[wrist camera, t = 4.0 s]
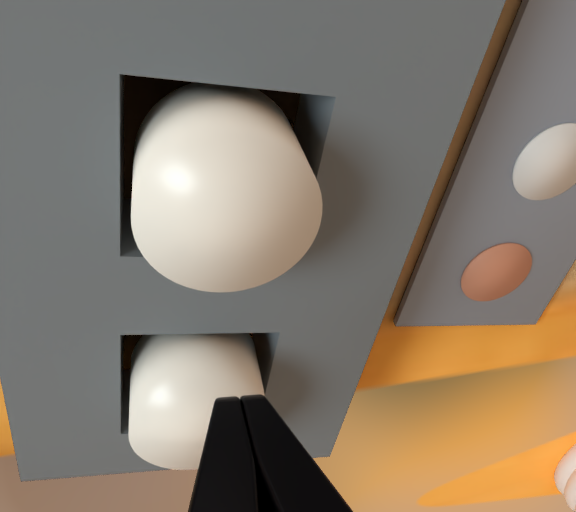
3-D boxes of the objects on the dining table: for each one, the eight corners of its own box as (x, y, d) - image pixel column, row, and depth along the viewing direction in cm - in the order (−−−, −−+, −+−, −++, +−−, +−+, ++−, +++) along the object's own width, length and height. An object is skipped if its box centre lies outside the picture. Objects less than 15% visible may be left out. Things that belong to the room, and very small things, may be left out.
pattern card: (531, 319, 25) (536, 325, 25) (393, 321, 23) (396, 328, 23) (775, -82, 16) (788, -81, 15) (576, -134, 14) (585, -133, 13)
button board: (313, 399, 25) (329, 456, 23) (34, 413, 22) (20, 481, 20) (596, -484, 10) (726, -573, 8) (-156, -838, 7) (-304, -1161, 5)
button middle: (281, 228, 17) (302, 292, 14) (132, 223, 16) (129, 292, 13) (310, 88, 14) (341, 140, 12) (134, 70, 13) (132, 123, 11)
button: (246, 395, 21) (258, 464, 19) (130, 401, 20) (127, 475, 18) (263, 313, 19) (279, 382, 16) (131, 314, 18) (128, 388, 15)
